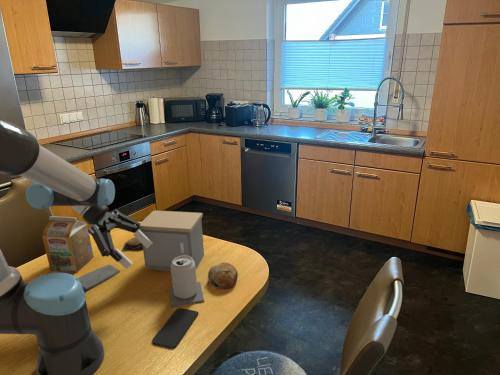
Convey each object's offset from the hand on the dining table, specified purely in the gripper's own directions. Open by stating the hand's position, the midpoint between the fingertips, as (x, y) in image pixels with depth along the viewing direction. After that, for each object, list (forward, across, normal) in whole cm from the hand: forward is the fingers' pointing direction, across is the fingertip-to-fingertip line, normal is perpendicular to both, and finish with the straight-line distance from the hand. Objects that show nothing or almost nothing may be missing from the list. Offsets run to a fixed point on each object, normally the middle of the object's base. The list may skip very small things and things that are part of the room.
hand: (140, 255), depth 118 cm
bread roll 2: (-3, -26, -21) cm, 33 cm away
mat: (+19, +1, +2) cm, 19 cm away
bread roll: (+26, -9, +9) cm, 28 cm away
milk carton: (-15, -10, -33) cm, 37 cm away
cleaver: (-6, +4, -25) cm, 26 cm away
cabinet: (+11, -17, -6) cm, 21 cm away
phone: (+21, +16, +3) cm, 27 cm away
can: (+19, +1, +2) cm, 19 cm away
